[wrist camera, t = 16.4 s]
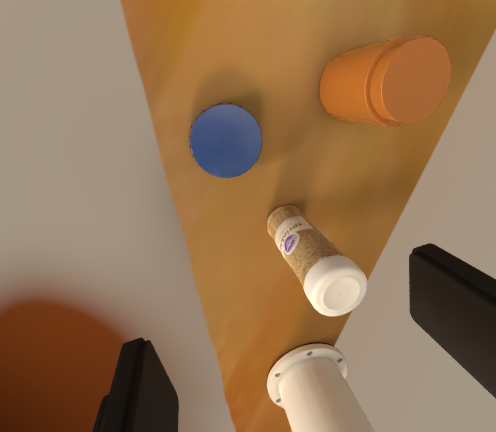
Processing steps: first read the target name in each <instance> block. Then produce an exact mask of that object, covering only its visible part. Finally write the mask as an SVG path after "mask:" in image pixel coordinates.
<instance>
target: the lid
mask: <svg viewBox="0 0 496 432" xmlns="http://www.w3.org/2000/svg"><path fill="white" fill-rule="evenodd" d="M191 128H192V129H191V134H190V135H189V137H190V143H191V145H190V148H191V149H192V153H193V157H194V158H195V160H196V161H197V163H198V165H200V166H201V167H202V168H203V169H204V170H205V171H206V172H208V173H210V174H212V175H214V176H217V177H222V178H231V177H236V176H239V175H241V174H243V173H245V172H246V171H248V170H249V169H250V168H251V167H252V166H253V165H254V164H255V162H256V161H257V159H258V157H259V155H260V152H261V148H262V134H261V130H260V127H259V125H258V123H257V121H256V120H255V118H254V117H253V116H252V115H251V114H250V113H249V111H246V110H245V109H243V108H241V106H236V105H232V103H229V104H222V103H219V104H217V105H213V106H210V107H209V108H207V109H205V110H204V111H202V113H201V114H200V115H199V116H198V117H197V118H196V120H195V122H194V124H193V126H191Z"/></svg>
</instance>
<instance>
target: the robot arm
mask: <svg viewBox="0 0 496 432" xmlns="http://www.w3.org/2000/svg"><path fill="white" fill-rule="evenodd" d="M409 280H410V281H409V284H410V314H411V316H412V318H413V320H414V321H415V322H416V323H417V324H418V325H419V326H420V327H421V328H422V329H423V330H425V332H427V333H428V334H429V335H430V336H431V337H432V338H433V339H434V340H435V341H436V342H437V343H438V344H439V345H440V346H441V347H442V348H443V349H444V350H445V351H447V352H448V353H449V354H450V355H451V356H452V357H453V358H454V359H455V360H456V361H457V362H458V363H459V364H460V365H461V366H462V367H463V368H464V369H465V370H466V371H468V372H469V373H470V374H471V375H472V376H473V377H474V378H475V379H476V380H477V381H478V382H479V383H480V384H481V385H482V386H483V387H484V388H486V390H488V392H490V393H491V394H492V395H493V396H494V397H495V398H496V279H494V278H492V277H490V276H489V275H487V274H485V273H483V272H481V271H480V270H478V269H476V268H475V267H473V266H471V265H469V264H467V263H466V262H464V261H462V260H461V259H459V258H457V257H455V256H453V255H452V254H450V253H448V252H446V251H445V250H443V249H441V248H439V247H438V246H436V245H434V244H426V245H423V246H420V247H417V248H414V249H413V251H412V254H410V256H409ZM347 371H348V370H347V362H346V360H345V358H344V356H343V355H342V353H341V352H340V351H339V350H338V349H336V348H335V347H333V346H330V345H327V344H309V345H304V346H301V347H299V348H296V349H294V350H292V351H290V352H289V353H287V354H286V355H284V356H283V357H282V358H281V359H279V360H278V361H277V363H276V364H275V365H274V366H273V367H272V369H271V371H270V373H269V375H268V379H267V388H268V392H269V395H270V398H271V399H272V401H273V402H274V403H275V404H277V405H278V406H280V407H283V408H285V411H286V414H287V417H288V420H289V424H290V427H291V430H292V432H374V430H373V428H372V426H371V424H370V423H369V421H368V419H367V417H366V416H365V414H364V412H363V410H362V409H361V407H360V405H359V403H358V402H357V400H356V398H355V396H354V395H353V393H352V391H351V389H350V388H349V386H348V384H347V382H346V380H345V378H346V376H347ZM178 404H179V403H178V397H177V393H176V391H175V389H174V387H173V385H172V383H171V381H170V379H169V377H168V375H167V373H166V371H165V369H164V367H163V365H162V363H161V361H160V359H159V357H158V355H157V353H156V351H155V349H154V347H153V345H152V343H151V341H150V340H147V341H145V340H144V339H143V338H139V339H135V340H132V341H129V342H126V343H124V344H123V346H122V349H121V352H120V356H119V359H118V363H117V367H116V370H115V374H114V378H113V382H112V385H111V389H110V393H109V394H108V395H106V396H105V397H104V398H103V400H102V402H101V405H100V408H99V411H98V415H97V418H96V422H95V425H94V428H93V432H178V410H179V408H178V407H179V405H178Z"/></svg>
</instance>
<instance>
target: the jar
mask: <svg viewBox="0 0 496 432" xmlns="http://www.w3.org/2000/svg"><path fill="white" fill-rule="evenodd" d="M450 80H451V62H450V58H449V55H448V53H447V51H446V49H445V48H444V46H443V44H441V43H440V42H439V41H437V40H436V38H432V37H429V36H417V35H403V36H400V37H396V38H393V39H389V40H385V41H382V42H378V43H375V44H371V45H367V46H364V47H360V48H357V49H353V50H350V51H346V52H343V53H341V54H339V55H337V56H336V57H335V58H333V59H332V60H331V61H330V63H329V64H328V65H327V67H326V68H325V70H324V72H323V74H322V77H321V81H320V88H319V93H320V99H321V103H322V105H323V107H324V109H325V110H326V111H327V113H328V114H329V115H331V116H332V117H334V118H336V119H339V120H345V121H352V122H359V123H366V124H372V125H379V126H386V127H401V126H405V125H407V124H411V123H415V122H419V121H421V120H423V119H425V118H426V117H428V116H429V115H430V114H432V113H433V112H434V111H435V110H436V109H437V107H438V106H439V105H440V104H441V102H442V101H443V99H444V97H445V95H446V93H447V90H448V87H449V84H450Z"/></svg>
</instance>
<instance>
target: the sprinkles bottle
mask: <svg viewBox="0 0 496 432" xmlns="http://www.w3.org/2000/svg"><path fill="white" fill-rule="evenodd" d="M267 230H268V233H269V234H270V236H271V237H272V238H273V239H274V240H275V242H276V245H277V246H278V248H279V250H280V251H281V253H282V255H283V256H284V258H285V259H286V261H287V262H288V264H289V265H290V266H291V268H292V269H293V271H294V273H295V274H296V276H297V277H298V278H299V280H300V282H301V283H302V285H303V287H304V291H305V294H306V296H307V297H308V299H309V300H310V302H311V304H312V305H313V307H314V308H315V309H316V310H317V311H318V312H319V313H321V314H323V315H326V316H339V315H343V314H346V313H348V312H350V311H351V310H353V309H354V308H355V307H357V306H358V305H359V304H360V303H361V301H362V300H363V298H364V297H365V294H366V292H367V286H368V283H367V278H366V276H365V274H364V273H363V272H362V270H361V269H360V268H359V267H358V266H357V265H356V264H355V263H354V262H353V261H352V260H351V259H349V258H347V257H345V256H344V255H343V254H342V253H341V252H340V251H339V250H338V249H337V248H336V247H335V246H334V244H333V243H332V242H331V241H330V240H329V239H328V238H327V237H326V236H325V235H324V234H323V233H322V232H321V231H320V230H319V229H318V228H317V227H316V226H315V225H314V224H313V223H312V222H311V221H310V220H309V219H307V218H306V217H305V216H304V215H303V214H302V212H301V211H300V210H299V209H298V208H297V207H295V206H292V205H286V206H281V207H278V208H277V209H275V210H274V211H273V212H272V213H271V214H270V216H269V217H268V221H267Z"/></svg>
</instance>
